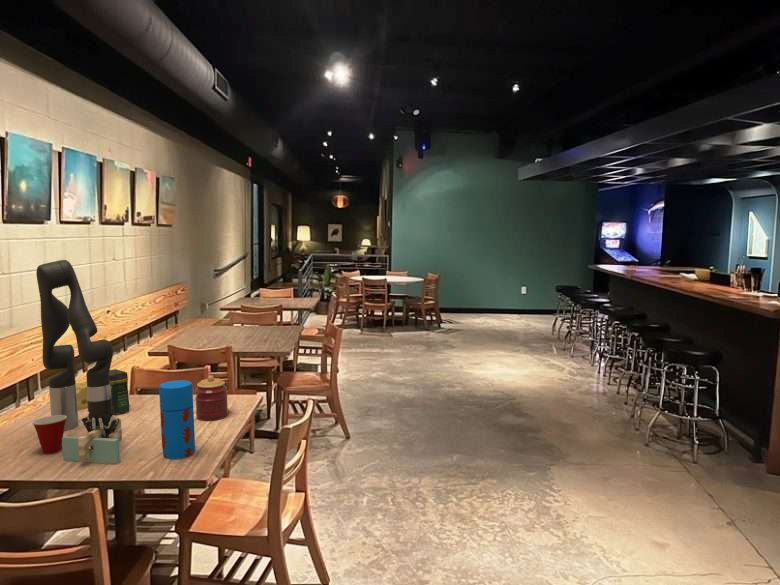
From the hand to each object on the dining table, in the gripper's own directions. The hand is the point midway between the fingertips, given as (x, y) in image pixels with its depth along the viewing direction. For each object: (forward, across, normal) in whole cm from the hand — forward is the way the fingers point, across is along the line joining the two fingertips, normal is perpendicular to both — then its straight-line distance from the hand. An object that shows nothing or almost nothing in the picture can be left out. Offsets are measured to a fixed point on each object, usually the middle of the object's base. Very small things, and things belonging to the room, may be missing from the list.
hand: (102, 445), depth 200 cm
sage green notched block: (+3, 0, -6) cm, 7 cm away
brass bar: (+2, 0, 0) cm, 2 cm away
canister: (+4, +19, +44) cm, 48 cm away
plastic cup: (+4, -20, 0) cm, 21 cm away
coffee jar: (+3, -24, +44) cm, 50 cm away
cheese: (+3, -45, +50) cm, 67 cm away
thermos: (+4, +26, +5) cm, 27 cm away
